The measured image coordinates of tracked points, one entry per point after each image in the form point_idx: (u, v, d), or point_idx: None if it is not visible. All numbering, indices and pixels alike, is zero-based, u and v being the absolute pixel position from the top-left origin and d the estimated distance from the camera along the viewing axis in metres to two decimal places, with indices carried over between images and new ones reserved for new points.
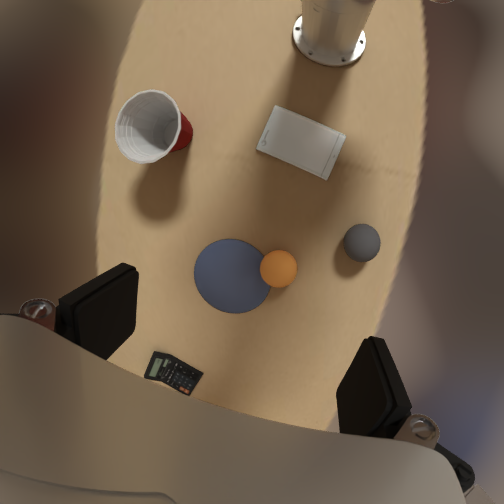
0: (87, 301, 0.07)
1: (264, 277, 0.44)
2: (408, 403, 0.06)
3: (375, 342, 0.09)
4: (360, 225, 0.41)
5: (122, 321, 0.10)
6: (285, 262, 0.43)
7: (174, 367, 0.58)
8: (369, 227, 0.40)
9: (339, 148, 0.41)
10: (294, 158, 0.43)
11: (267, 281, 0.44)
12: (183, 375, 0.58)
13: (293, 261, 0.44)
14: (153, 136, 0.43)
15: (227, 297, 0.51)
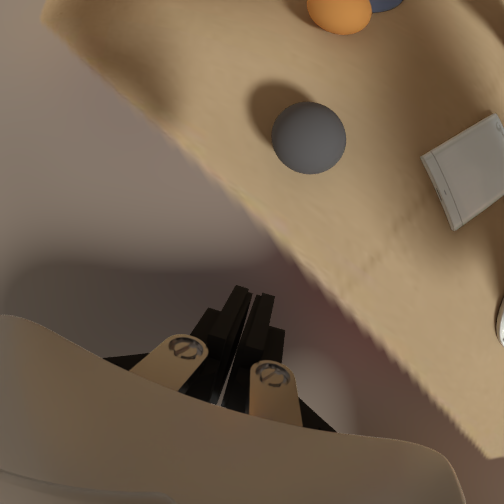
0: (234, 331, 0.08)
1: None
2: (260, 346, 0.07)
3: (261, 297, 0.11)
4: (343, 151, 0.20)
5: (237, 343, 0.11)
6: (354, 11, 0.15)
7: None
8: (332, 163, 0.20)
9: (449, 208, 0.22)
10: (468, 142, 0.20)
11: None
12: None
13: (344, 24, 0.17)
14: None
15: None
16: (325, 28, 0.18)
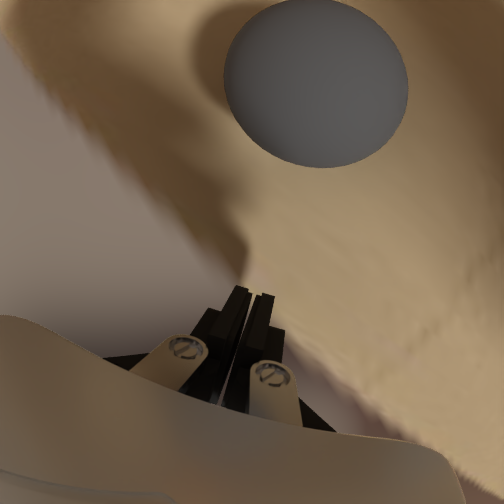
0: (234, 331, 0.08)
1: None
2: (260, 346, 0.07)
3: (261, 297, 0.11)
4: (402, 114, 0.07)
5: (237, 343, 0.11)
6: None
7: None
8: (381, 141, 0.07)
9: None
10: None
11: None
12: None
13: None
14: None
15: None
16: None
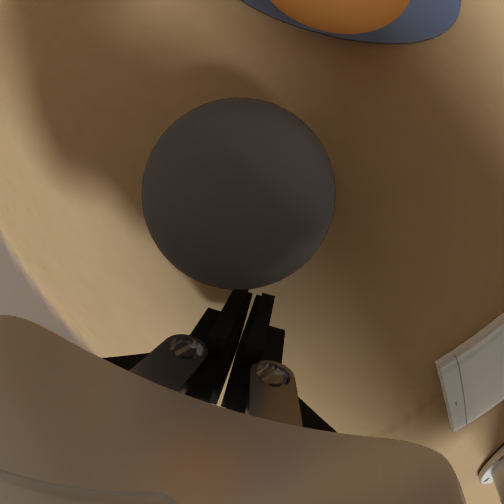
0: (234, 331, 0.08)
1: None
2: (260, 346, 0.07)
3: (261, 297, 0.11)
4: (334, 182, 0.08)
5: (237, 343, 0.11)
6: None
7: None
8: (314, 136, 0.07)
9: (454, 417, 0.12)
10: None
11: None
12: None
13: None
14: None
15: None
16: None
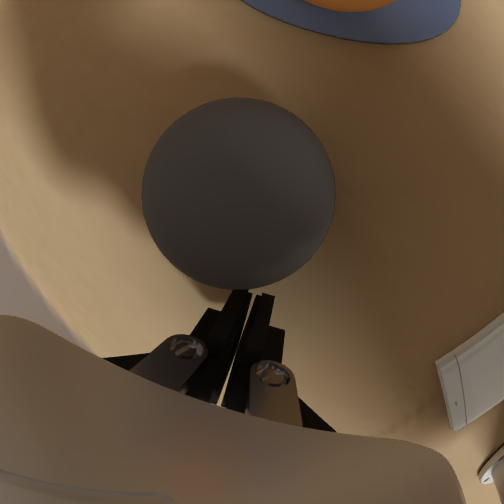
0: (234, 331, 0.08)
1: None
2: (260, 346, 0.07)
3: (261, 297, 0.11)
4: (334, 182, 0.08)
5: (237, 343, 0.11)
6: None
7: None
8: (314, 136, 0.07)
9: (454, 417, 0.12)
10: None
11: None
12: None
13: None
14: None
15: None
16: None
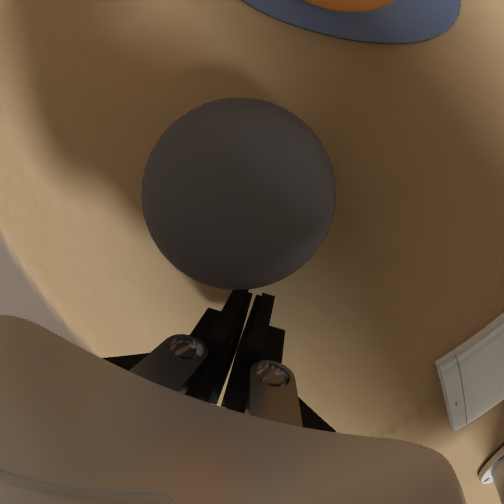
0: (234, 331, 0.08)
1: None
2: (260, 346, 0.07)
3: (261, 297, 0.11)
4: (334, 182, 0.08)
5: (237, 343, 0.11)
6: None
7: None
8: (314, 136, 0.07)
9: (454, 417, 0.12)
10: None
11: None
12: None
13: None
14: None
15: None
16: None
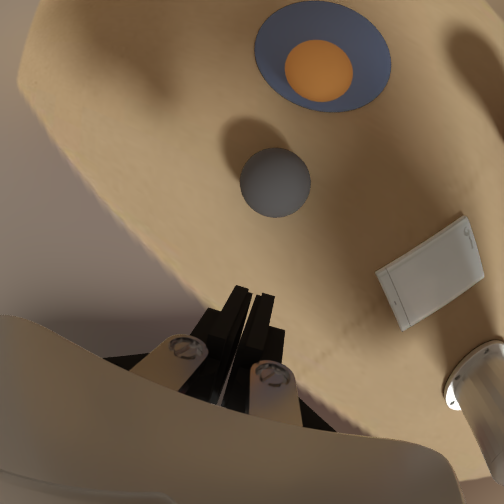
0: (234, 331, 0.08)
1: None
2: (260, 346, 0.07)
3: (261, 297, 0.11)
4: (309, 178, 0.23)
5: (237, 343, 0.11)
6: None
7: None
8: (302, 163, 0.22)
9: (397, 315, 0.27)
10: (428, 254, 0.25)
11: None
12: None
13: (332, 49, 0.17)
14: None
15: (296, 27, 0.22)
16: (310, 57, 0.18)
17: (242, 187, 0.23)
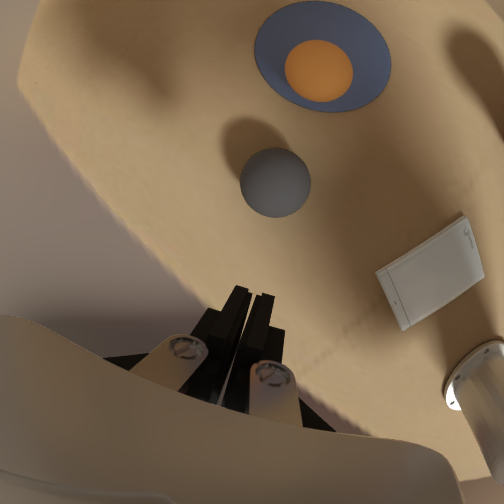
0: (234, 331, 0.08)
1: None
2: (260, 346, 0.07)
3: (261, 297, 0.11)
4: (309, 178, 0.23)
5: (237, 343, 0.11)
6: None
7: None
8: (303, 163, 0.22)
9: (397, 315, 0.27)
10: (428, 254, 0.25)
11: None
12: None
13: (332, 49, 0.17)
14: None
15: (296, 27, 0.22)
16: (310, 57, 0.18)
17: (242, 187, 0.23)
